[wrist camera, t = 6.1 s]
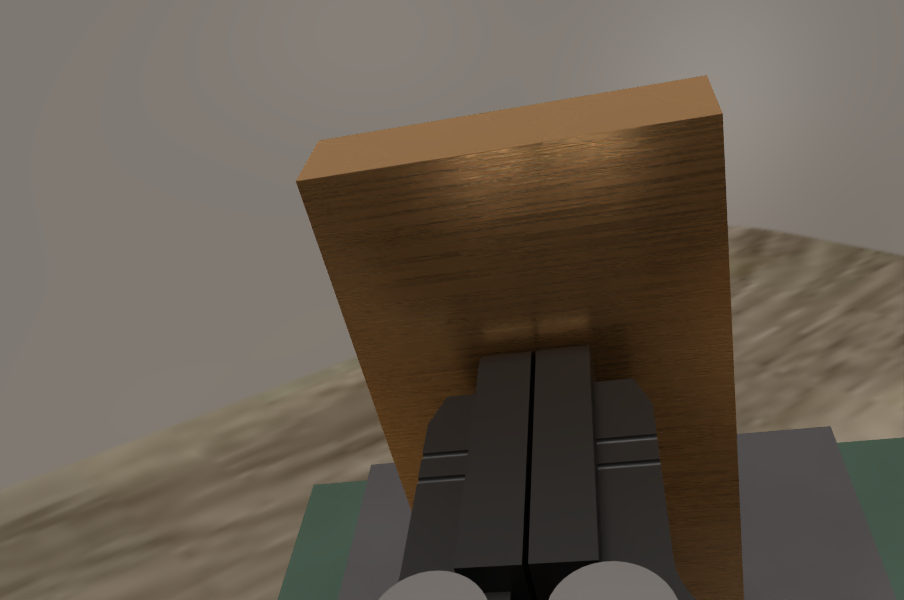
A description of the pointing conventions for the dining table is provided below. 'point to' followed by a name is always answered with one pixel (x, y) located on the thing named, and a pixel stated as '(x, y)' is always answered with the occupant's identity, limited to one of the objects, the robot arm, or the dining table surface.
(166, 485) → the dining table surface
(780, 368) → the dining table surface
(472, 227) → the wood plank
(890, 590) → the green tiered platform
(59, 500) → the dining table surface
